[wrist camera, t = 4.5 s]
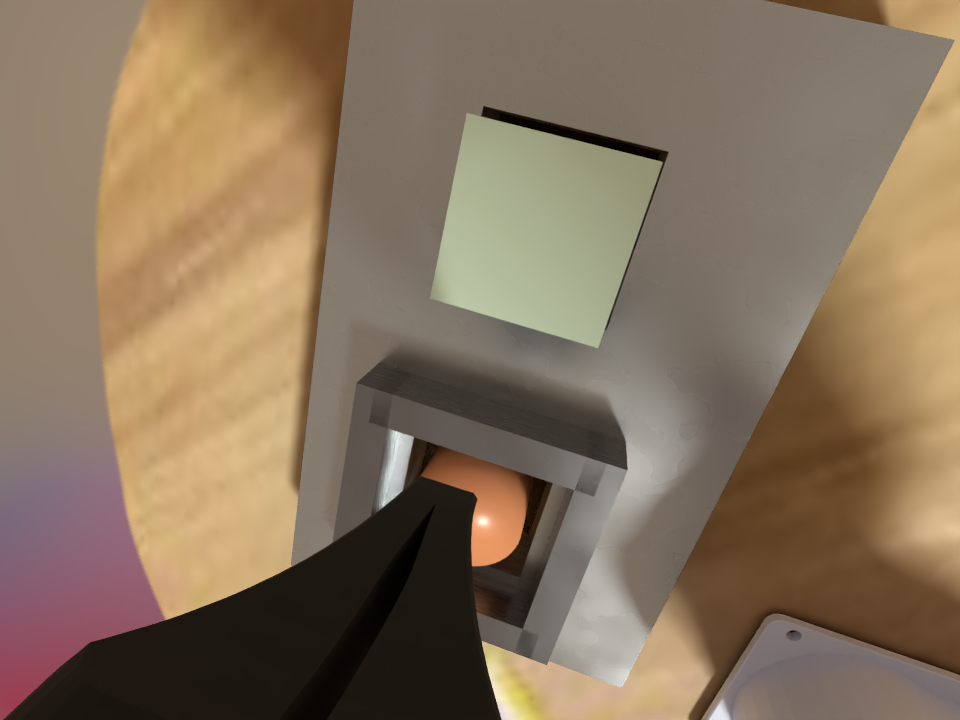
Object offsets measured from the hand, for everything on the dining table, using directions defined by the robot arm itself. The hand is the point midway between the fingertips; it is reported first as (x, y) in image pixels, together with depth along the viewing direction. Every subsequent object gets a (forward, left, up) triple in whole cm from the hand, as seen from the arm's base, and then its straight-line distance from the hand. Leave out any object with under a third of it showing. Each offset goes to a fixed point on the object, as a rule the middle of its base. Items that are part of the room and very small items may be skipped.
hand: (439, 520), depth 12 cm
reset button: (0, +4, -8) cm, 9 cm away
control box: (-1, -1, -9) cm, 9 cm away
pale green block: (0, -6, -7) cm, 9 cm away
